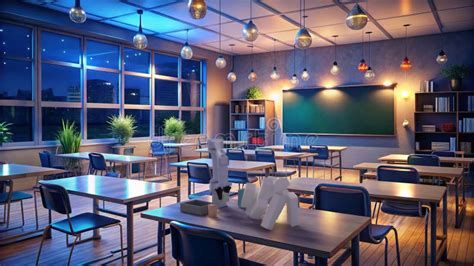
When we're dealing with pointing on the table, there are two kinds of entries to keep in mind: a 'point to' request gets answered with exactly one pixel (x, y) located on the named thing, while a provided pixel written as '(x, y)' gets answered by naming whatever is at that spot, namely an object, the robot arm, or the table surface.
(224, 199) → the sage cube
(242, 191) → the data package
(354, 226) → the table surface
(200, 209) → the tote
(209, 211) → the terracotta cylinder
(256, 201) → the pile of blocks
